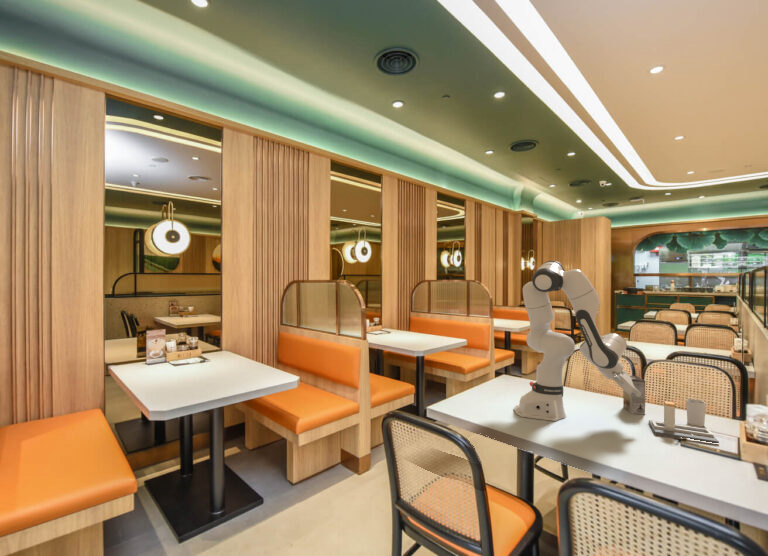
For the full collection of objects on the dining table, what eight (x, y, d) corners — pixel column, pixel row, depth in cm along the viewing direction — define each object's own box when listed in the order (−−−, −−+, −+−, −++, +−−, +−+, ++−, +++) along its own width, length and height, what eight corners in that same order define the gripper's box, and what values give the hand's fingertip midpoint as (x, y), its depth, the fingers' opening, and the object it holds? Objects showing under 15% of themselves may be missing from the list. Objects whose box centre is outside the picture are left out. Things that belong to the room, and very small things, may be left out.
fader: (665, 428, 155) (665, 403, 155) (663, 425, 158) (664, 401, 158) (674, 430, 153) (674, 404, 153) (672, 427, 156) (672, 402, 156)
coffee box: (622, 407, 185) (622, 374, 185) (636, 408, 184) (637, 375, 184) (630, 413, 176) (631, 379, 176) (646, 414, 175) (646, 380, 175)
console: (655, 435, 152) (655, 429, 152) (648, 423, 164) (648, 417, 164) (718, 445, 143) (718, 438, 143) (706, 432, 155) (706, 426, 155)
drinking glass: (689, 425, 162) (689, 402, 162) (683, 420, 169) (683, 398, 169) (708, 427, 160) (708, 404, 160) (701, 422, 166) (701, 399, 166)
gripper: (620, 370, 154) (649, 397, 149) (617, 360, 171) (643, 384, 167) (607, 379, 156) (635, 407, 151) (605, 369, 174) (631, 393, 169)
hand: (639, 395), depth 159 cm, fingers closed
